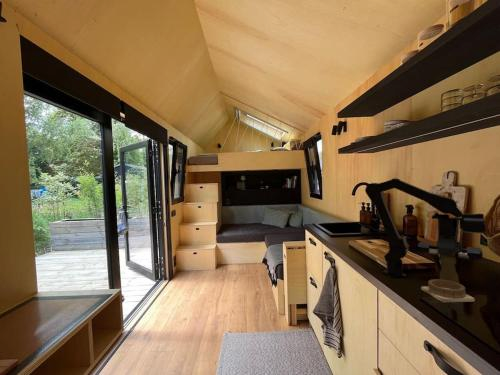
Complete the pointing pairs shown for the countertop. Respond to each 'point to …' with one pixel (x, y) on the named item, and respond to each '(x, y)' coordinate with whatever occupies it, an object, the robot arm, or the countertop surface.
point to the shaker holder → (447, 291)
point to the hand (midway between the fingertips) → (448, 272)
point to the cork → (448, 268)
